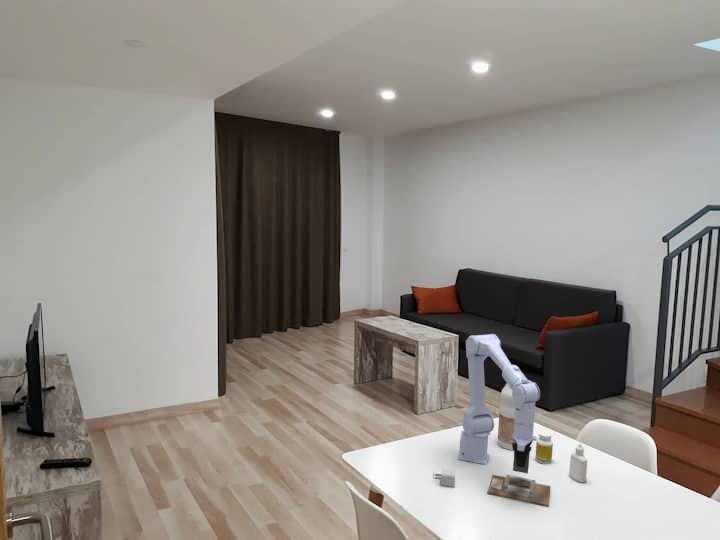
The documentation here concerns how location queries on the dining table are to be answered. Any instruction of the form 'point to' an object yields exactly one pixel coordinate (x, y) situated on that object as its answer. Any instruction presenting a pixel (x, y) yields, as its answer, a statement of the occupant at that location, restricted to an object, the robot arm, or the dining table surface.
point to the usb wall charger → (446, 477)
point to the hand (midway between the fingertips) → (521, 463)
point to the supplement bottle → (544, 448)
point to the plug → (520, 469)
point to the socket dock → (519, 489)
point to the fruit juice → (506, 419)
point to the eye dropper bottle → (578, 465)
